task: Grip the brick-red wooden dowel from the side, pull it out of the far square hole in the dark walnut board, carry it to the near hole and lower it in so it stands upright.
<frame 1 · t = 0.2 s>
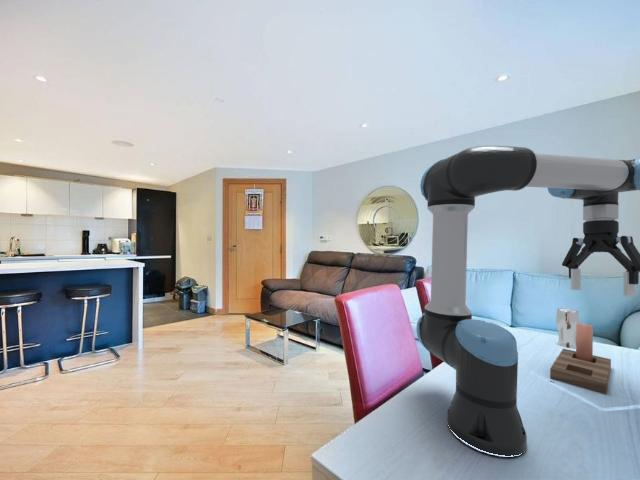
hand: (600, 292, 83), 28 cm above the table, tool pointing down, fingers open, 13 cm apart
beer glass: (567, 348, 113), on the table
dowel: (584, 367, 94), point 1 cm above the table, touching hole board
hole board: (581, 376, 89), on the table
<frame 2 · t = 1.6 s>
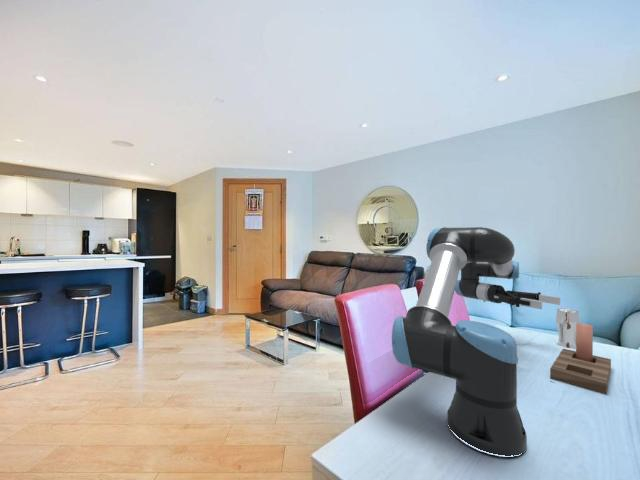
hand: (551, 303, 102), 20 cm above the table, tool horizontal, fingers open, 13 cm apart
nothing on the table moved.
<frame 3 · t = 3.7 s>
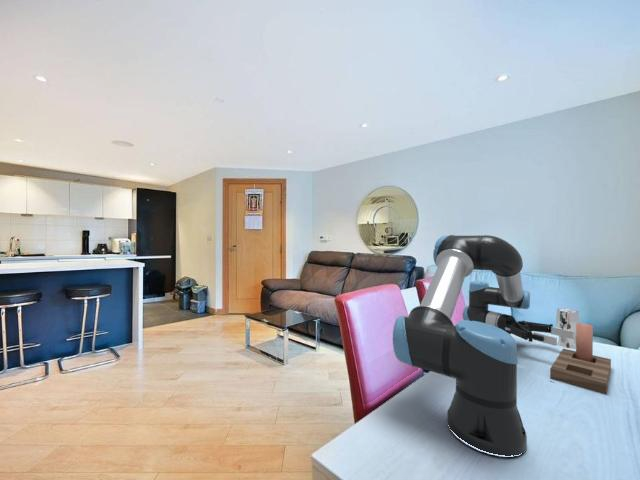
hand: (565, 338, 98), 9 cm above the table, tool horizontal, fingers open, 13 cm apart
nothing on the table moved.
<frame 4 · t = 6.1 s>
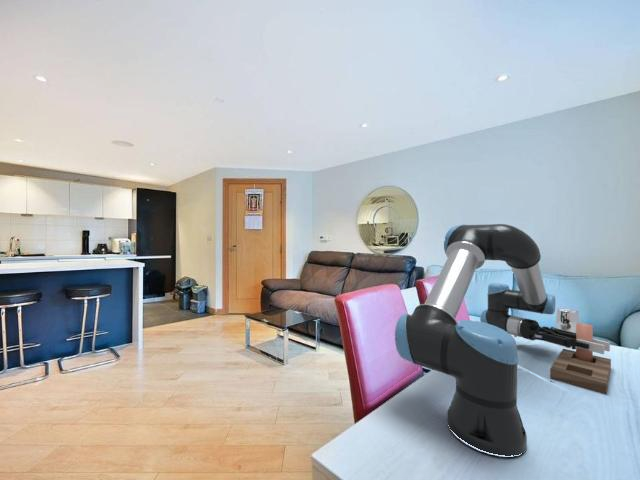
hand: (606, 348, 89), 9 cm above the table, tool horizontal, fingers closed on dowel, 4 cm apart
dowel: (584, 367, 94), point 1 cm above the table, touching gripper, hole board
everything else where it was.
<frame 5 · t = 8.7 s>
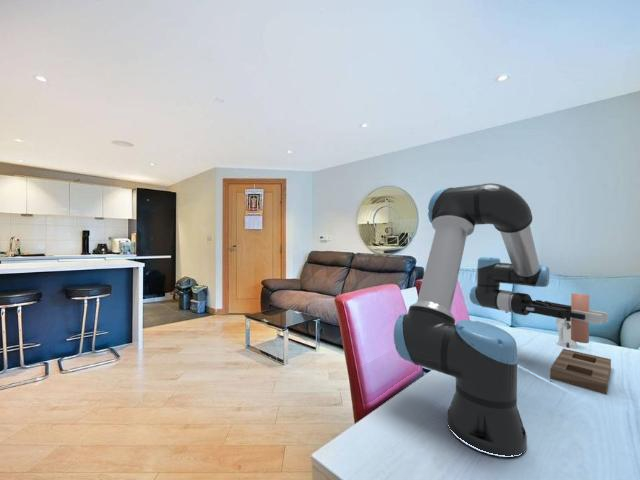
hand: (604, 318, 81), 21 cm above the table, tool horizontal, fingers closed on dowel, 4 cm apart
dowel: (579, 340, 85), point 13 cm above the table, touching gripper
everything else where it was.
when the fingers open (10 cm above the table, at t = 11.5 s): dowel drops 1 cm, resting on hole board.
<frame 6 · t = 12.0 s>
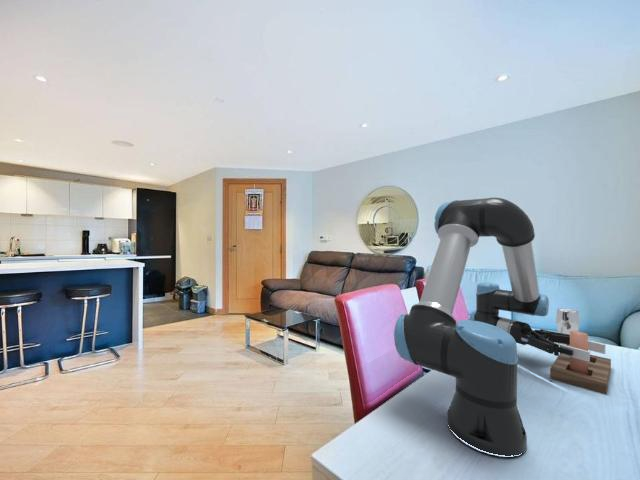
hand: (597, 352, 81), 10 cm above the table, tool horizontal, fingers open, 11 cm apart
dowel: (578, 379, 85), point 1 cm above the table, touching hole board
everything else where it was.
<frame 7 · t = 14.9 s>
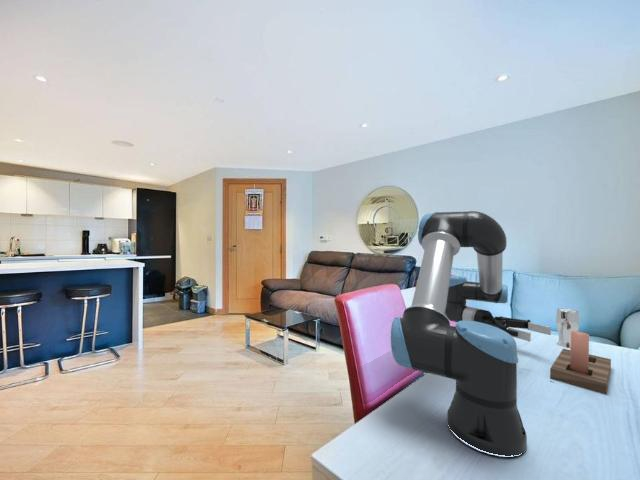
hand: (540, 334, 94), 12 cm above the table, tool horizontal, fingers open, 13 cm apart
nothing on the table moved.
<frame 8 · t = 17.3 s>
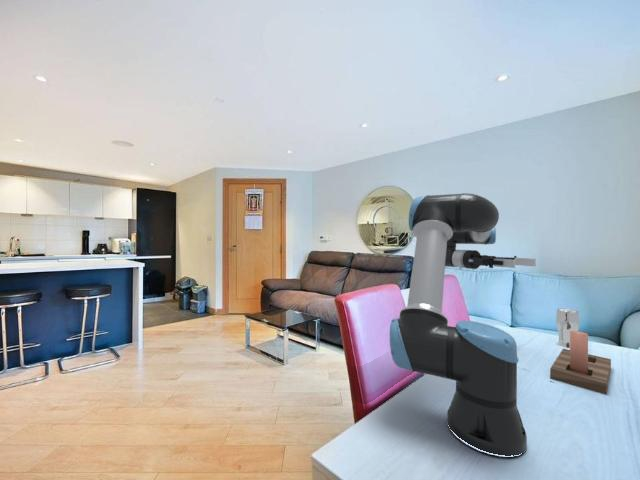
hand: (525, 263, 97), 35 cm above the table, tool horizontal, fingers open, 13 cm apart
nothing on the table moved.
at the end: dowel 0.0 cm from the target spot on the hole board, point 1.0 cm above the hole board's base; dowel tilted 1°; the gripper is holding nothing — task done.
